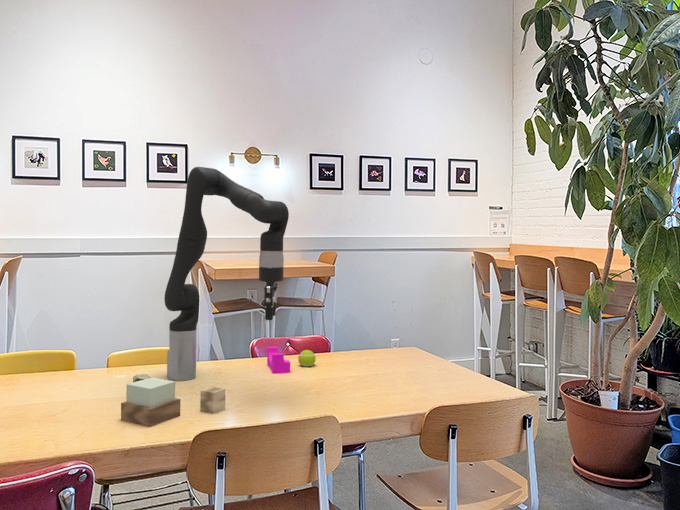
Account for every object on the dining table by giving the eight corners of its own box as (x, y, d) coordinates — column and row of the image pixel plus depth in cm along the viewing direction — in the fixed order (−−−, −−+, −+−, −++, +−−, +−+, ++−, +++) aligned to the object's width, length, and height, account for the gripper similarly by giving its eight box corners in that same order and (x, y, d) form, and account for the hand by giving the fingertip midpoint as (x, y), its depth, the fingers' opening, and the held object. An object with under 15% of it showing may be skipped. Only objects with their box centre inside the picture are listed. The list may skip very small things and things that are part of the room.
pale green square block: (126, 402, 157) (126, 384, 157) (151, 394, 165) (151, 377, 165) (150, 407, 153) (150, 388, 153) (174, 399, 161) (175, 381, 160)
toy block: (290, 374, 212) (290, 354, 211) (273, 375, 210) (273, 355, 210) (283, 365, 226) (283, 346, 226) (267, 366, 224) (267, 347, 224)
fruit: (142, 406, 172) (140, 381, 170) (122, 400, 176) (120, 375, 175) (166, 395, 179) (164, 371, 178) (146, 390, 184) (144, 366, 183)
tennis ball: (314, 369, 219) (315, 352, 219) (297, 369, 220) (297, 351, 219) (315, 365, 226) (316, 348, 226) (298, 365, 226) (299, 348, 226)
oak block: (200, 411, 166) (200, 390, 165) (211, 406, 170) (211, 386, 170) (213, 413, 163) (214, 392, 163) (225, 409, 168) (225, 389, 167)
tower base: (120, 421, 157) (121, 403, 156) (151, 410, 166) (151, 393, 166) (150, 428, 151) (150, 409, 151) (180, 416, 161) (180, 399, 161)
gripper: (262, 264, 184) (261, 314, 185) (256, 266, 170) (255, 321, 171) (285, 264, 185) (284, 314, 185) (281, 267, 170) (280, 321, 171)
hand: (270, 317), depth 178 cm, fingers open, 8 cm apart
